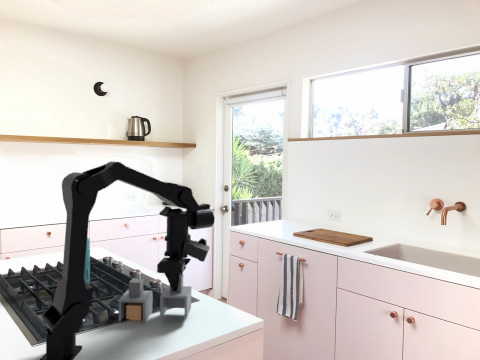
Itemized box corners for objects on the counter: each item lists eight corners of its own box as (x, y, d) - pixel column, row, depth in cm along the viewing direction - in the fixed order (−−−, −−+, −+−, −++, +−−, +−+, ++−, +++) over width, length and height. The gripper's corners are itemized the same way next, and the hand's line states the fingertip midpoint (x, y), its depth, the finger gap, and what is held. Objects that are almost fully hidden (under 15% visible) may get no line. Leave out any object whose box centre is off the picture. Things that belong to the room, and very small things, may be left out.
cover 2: (186, 318, 95) (187, 281, 94) (160, 317, 95) (160, 280, 94) (191, 307, 102) (191, 272, 101) (166, 306, 102) (166, 271, 101)
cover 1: (145, 323, 95) (145, 285, 94) (118, 322, 95) (118, 284, 95) (152, 311, 102) (152, 276, 101) (127, 310, 102) (127, 275, 102)
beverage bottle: (82, 291, 116) (82, 228, 114) (64, 289, 117) (63, 227, 115) (94, 284, 122) (94, 225, 120) (77, 282, 123) (76, 223, 122)
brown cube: (141, 320, 97) (141, 306, 96) (126, 320, 97) (126, 305, 97) (145, 314, 101) (145, 300, 100) (131, 313, 101) (131, 299, 101)
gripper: (203, 241, 87) (201, 304, 88) (211, 225, 106) (210, 278, 107) (157, 239, 88) (156, 302, 89) (173, 224, 106) (172, 276, 107)
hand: (176, 288), depth 98 cm, fingers closed on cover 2, 3 cm apart
